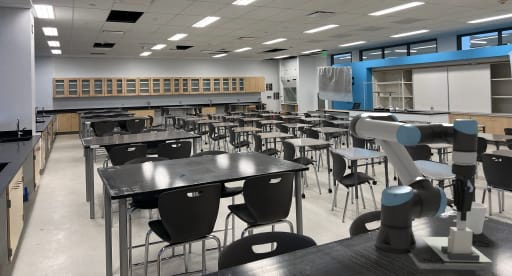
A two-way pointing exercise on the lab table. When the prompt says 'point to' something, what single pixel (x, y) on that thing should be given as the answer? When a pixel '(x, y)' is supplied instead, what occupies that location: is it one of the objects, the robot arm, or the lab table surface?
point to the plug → (460, 241)
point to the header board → (442, 247)
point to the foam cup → (476, 217)
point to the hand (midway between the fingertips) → (461, 228)
